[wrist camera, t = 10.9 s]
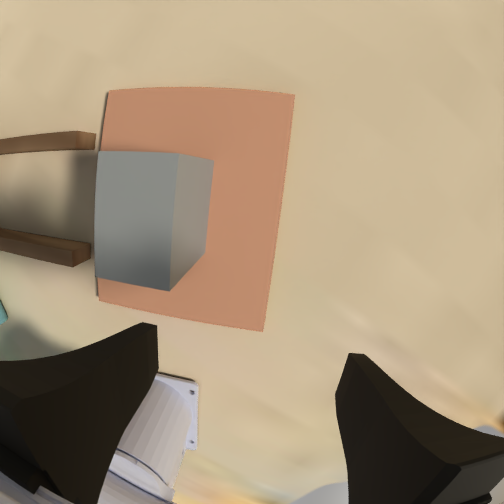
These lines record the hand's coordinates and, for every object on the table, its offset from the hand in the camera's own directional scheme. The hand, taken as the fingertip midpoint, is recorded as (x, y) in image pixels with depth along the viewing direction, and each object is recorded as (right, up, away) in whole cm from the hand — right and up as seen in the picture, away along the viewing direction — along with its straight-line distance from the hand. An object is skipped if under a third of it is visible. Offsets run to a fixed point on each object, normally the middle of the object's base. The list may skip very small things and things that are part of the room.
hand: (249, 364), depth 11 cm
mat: (-5, +7, +9) cm, 13 cm away
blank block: (-5, +7, +9) cm, 12 cm away
